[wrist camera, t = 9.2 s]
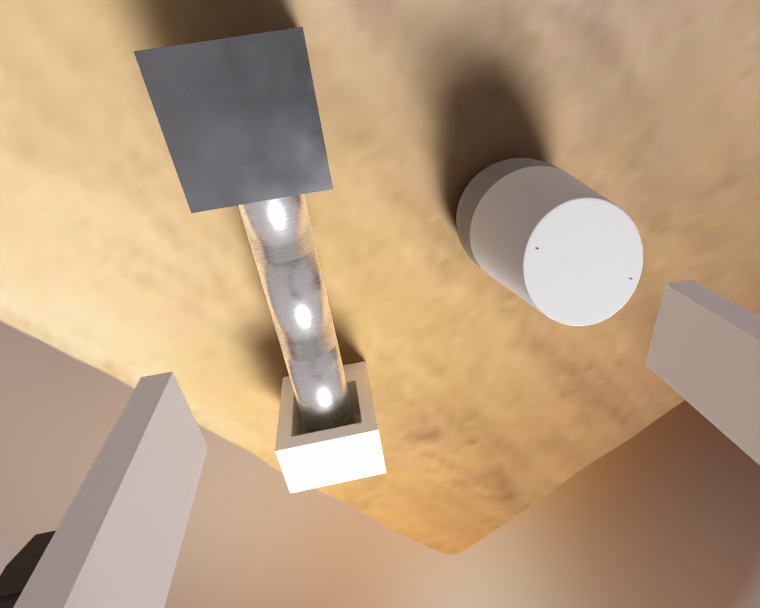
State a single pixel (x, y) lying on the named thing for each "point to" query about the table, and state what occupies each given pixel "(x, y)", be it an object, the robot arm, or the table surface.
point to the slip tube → (299, 308)
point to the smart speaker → (550, 240)
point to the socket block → (329, 439)
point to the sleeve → (239, 117)
